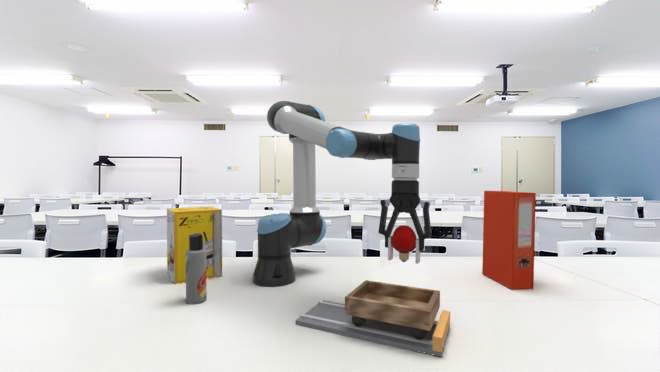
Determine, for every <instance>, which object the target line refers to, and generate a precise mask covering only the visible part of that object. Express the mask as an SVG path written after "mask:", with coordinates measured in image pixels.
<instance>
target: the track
mask: <svg viewBox="0 0 660 372" xmlns="http://www.w3.org/2000/svg"><path fill="white" fill-rule="evenodd" d="M295 325H296V326H297V325H299V326H302V327H306V328H311V329H315V330H320V331H324V332H328V333H334V334H338V335H342V336H347V337H351V338H355V339H360V340H364V341H368V342H373V343H377V344H381V345H386V346H390V345H391V346H390V347H394V346H395V348H399V347H400V348H399V349H403V348H405V349H404V350H407V349H410V350H409V351H412V350H415V351H414V352H416V351H420V352H419V353H421V352H425V353H429V354H434V355H437V356H436V357H438V356H442V357H443V355H444V351H443V350H445V347H446V344H445V343H447V340H446V339H448V337H449V332H450V329H451V311H450V310H444V309H442V310H441V313H440V317H439V318H438V320H434V323H433V325H432V328H431V330H430V331H428V330H427V333H426V335H425V337H424V338H423V339H421V340H419V339H416V338H414V337H413V335H412V333H411V330H412V328H413V327H408V326H403V325H398V324H392V323H387V322H382V321H377V320H372V319H367V318H366V321H365V323H364V324H363V325H362V326H361V327H357V326H355V325H354V324H353V322H352V315H346V314H345V303H340V302H334V301H329V300H324V299H323V300H319V301H318V302H317V304H316V305H314V306H313V307H312V308H310V309H309V310H308V311H306V312H305V313H301V314H300V315H299V317H298V318H297V319H296V320H295ZM444 346H445V347H444ZM425 353H424V354H425ZM429 354H428V355H429ZM434 355H433V356H434Z"/></svg>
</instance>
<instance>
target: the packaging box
mask: <svg viewBox="0 0 660 372" xmlns="http://www.w3.org/2000/svg"><path fill="white" fill-rule="evenodd" d="M196 233H201V234H202V235H203V249H206V280H208V279H207V278H209V279H214V277H216V278H220V277H221V276H222V277H223V209H221V208H219V207H218V208H217V207H215V206H214V207H213V206H194V207H193V206H191V207H173V208H169V207H168V208H166V251H167V252H166V253H167V254H166V256H167V257H166V259H167V260H166V261H167V265H166V266H167V268H166V269H167V270H166V271H167V275H168V274H169V275H168V276H169V277H171V278H170V279H171V281H172V280H173V281H172V283H175V284H174V285H177V283H179V284H184V283H183V282H185V283H186V251H187V250H189V235H192V234H196Z"/></svg>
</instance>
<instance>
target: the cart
mask: <svg viewBox="0 0 660 372" xmlns="http://www.w3.org/2000/svg"><path fill="white" fill-rule="evenodd" d="M440 303H441V291H440V290H436V289H429V288H422V287H415V286H409V285H401V284H396V283H387V282H380V281H374V280H368V279H367V280H364V281H363V282H362V283H360V284H359V285H358V286H356V287H355V288H354V289H353V290H352V291H350V292H349V293H347V295H346V296H345V297H344V304H345V314H346V315H352V322H353V324H354V325H355V326H357V327H361V326H362V325H363V324H364V323H365V321H366V318H367V319H372V320H377V321H382V322H387V323H392V324H398V325H403V326H408V327H413V328H412V330H411V333H412V335H413V337H414V338H416V339H419V340H421V339H423V338H424V337H425V335H426V333H427V330H428V331H430V330H431V328H432V325H433V323H434V320H435V319H436V317H437V315H438V313H439V310H440V307H441V304H440ZM435 321H436V320H435Z"/></svg>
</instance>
